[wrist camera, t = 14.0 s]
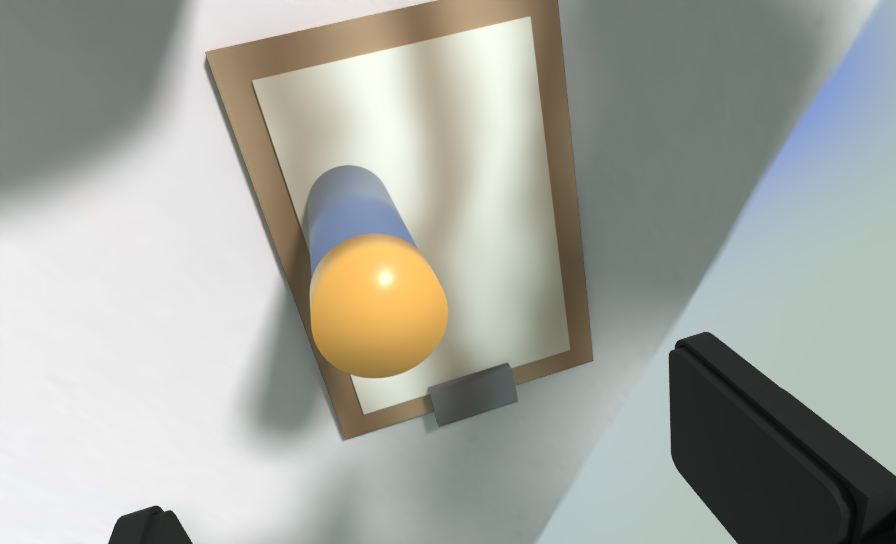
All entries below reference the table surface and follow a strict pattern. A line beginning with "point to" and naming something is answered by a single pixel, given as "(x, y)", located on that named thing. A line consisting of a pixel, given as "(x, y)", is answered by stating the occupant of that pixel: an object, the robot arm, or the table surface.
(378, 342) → the cylinder
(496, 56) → the clipboard
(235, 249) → the table surface
